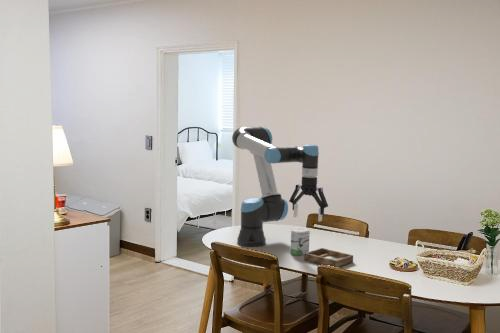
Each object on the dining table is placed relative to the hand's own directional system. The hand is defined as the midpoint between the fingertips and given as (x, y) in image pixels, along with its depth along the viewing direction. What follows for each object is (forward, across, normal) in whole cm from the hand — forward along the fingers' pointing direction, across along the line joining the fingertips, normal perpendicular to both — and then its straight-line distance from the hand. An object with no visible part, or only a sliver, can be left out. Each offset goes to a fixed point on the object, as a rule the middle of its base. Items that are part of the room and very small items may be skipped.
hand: (307, 218), depth 260 cm
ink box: (+18, -3, -2) cm, 18 cm away
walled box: (+17, +15, -6) cm, 24 cm away
